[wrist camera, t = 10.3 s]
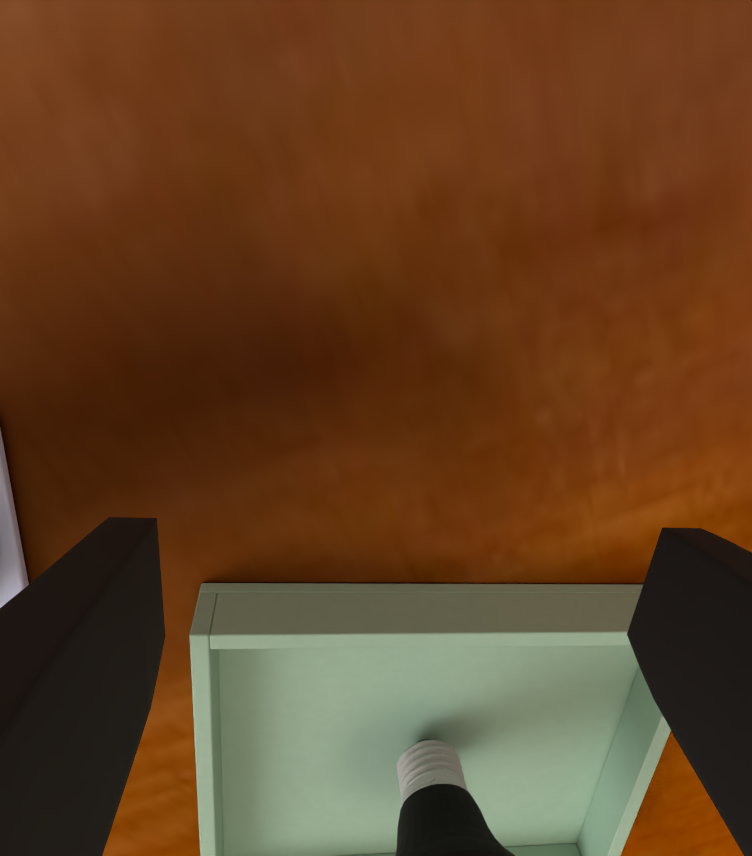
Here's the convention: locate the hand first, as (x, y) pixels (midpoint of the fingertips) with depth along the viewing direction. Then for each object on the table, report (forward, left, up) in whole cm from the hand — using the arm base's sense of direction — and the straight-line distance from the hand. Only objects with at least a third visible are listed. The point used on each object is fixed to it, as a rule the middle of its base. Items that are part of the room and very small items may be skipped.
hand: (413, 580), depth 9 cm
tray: (+4, -16, -10) cm, 20 cm away
